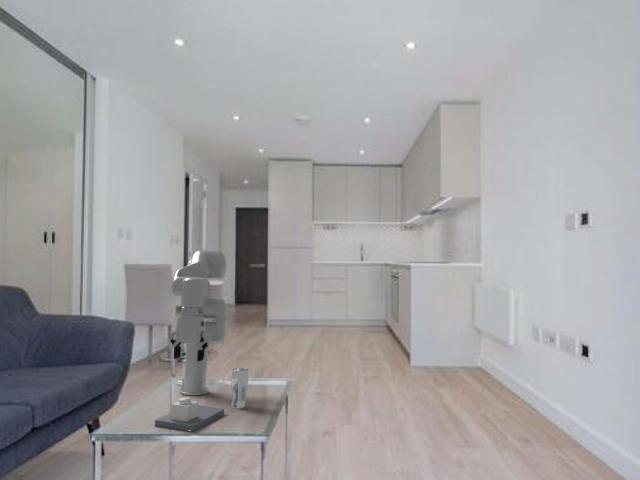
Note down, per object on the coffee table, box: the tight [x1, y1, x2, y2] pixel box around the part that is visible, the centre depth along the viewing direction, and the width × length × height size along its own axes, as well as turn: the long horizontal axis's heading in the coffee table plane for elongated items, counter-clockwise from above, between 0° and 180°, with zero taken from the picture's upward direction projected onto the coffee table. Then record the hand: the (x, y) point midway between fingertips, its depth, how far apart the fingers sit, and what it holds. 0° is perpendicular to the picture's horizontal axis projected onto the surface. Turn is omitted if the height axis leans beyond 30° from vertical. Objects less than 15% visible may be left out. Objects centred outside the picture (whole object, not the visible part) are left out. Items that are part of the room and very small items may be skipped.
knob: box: [170, 396, 199, 422], centre depth 161 cm, size 7×7×7 cm
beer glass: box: [230, 367, 250, 410], centre depth 184 cm, size 7×7×15 cm
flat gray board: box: [154, 404, 225, 432], centre depth 165 cm, size 15×22×6 cm
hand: (188, 359), depth 163 cm, fingers open, 9 cm apart
